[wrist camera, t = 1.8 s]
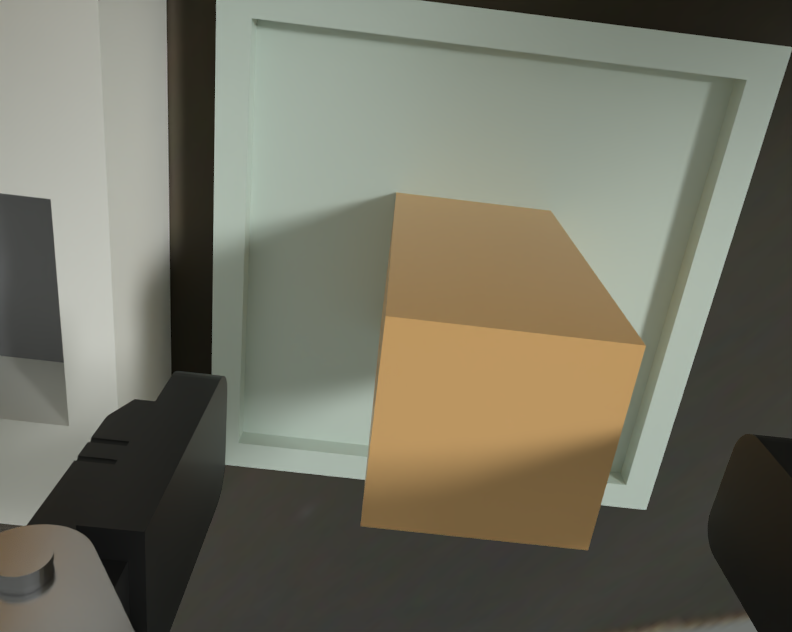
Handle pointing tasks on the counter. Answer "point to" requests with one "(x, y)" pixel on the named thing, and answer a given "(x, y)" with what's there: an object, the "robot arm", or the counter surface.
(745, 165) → the tray
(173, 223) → the counter surface
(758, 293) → the counter surface
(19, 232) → the power strip
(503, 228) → the plug
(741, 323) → the counter surface
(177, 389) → the robot arm
